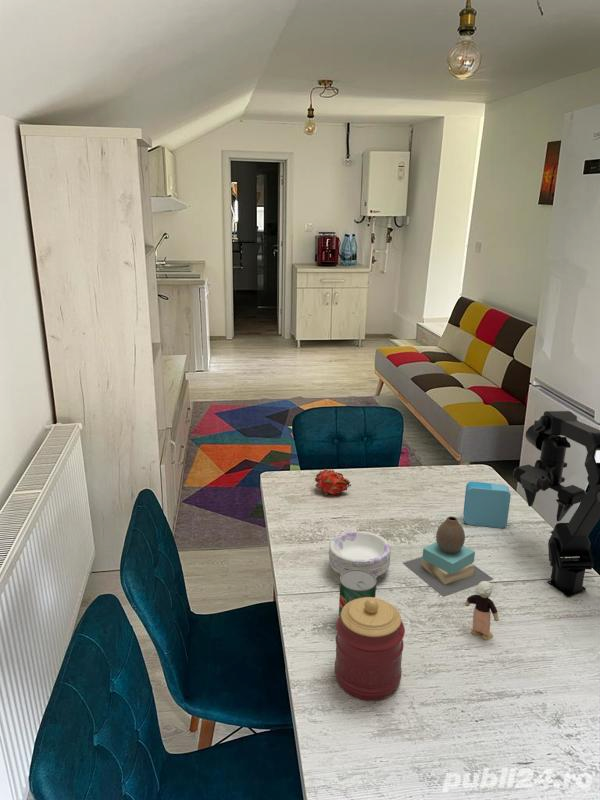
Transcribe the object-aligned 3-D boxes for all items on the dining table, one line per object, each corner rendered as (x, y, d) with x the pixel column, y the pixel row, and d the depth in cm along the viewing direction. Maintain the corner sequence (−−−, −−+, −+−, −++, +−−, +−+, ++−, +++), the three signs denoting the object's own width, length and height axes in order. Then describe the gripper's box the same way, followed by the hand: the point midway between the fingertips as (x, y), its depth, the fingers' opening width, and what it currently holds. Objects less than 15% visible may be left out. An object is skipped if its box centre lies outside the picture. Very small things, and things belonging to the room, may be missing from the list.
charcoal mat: (493, 580, 150) (493, 579, 150) (443, 598, 143) (443, 596, 143) (450, 549, 164) (450, 548, 163) (402, 564, 156) (402, 562, 156)
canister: (358, 644, 127) (362, 572, 122) (413, 674, 120) (419, 597, 114) (320, 680, 118) (323, 602, 112) (377, 714, 110) (382, 632, 105)
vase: (434, 554, 149) (436, 522, 146) (436, 540, 155) (439, 510, 153) (462, 559, 147) (466, 527, 145) (463, 545, 154) (467, 514, 151)
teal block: (473, 562, 152) (475, 551, 151) (451, 574, 146) (452, 564, 145) (444, 547, 158) (445, 536, 157) (422, 558, 153) (423, 548, 152)
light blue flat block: (504, 521, 179) (509, 484, 175) (506, 529, 175) (511, 491, 171) (462, 517, 181) (466, 480, 178) (463, 524, 177) (467, 487, 173)
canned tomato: (332, 615, 137) (334, 572, 133) (364, 607, 139) (366, 566, 136) (347, 637, 130) (349, 593, 126) (380, 629, 132) (383, 585, 129)
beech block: (473, 575, 151) (474, 564, 150) (444, 584, 147) (446, 574, 146) (448, 557, 159) (449, 547, 158) (421, 566, 155) (422, 556, 154)
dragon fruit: (312, 493, 199) (347, 503, 196) (308, 488, 191) (345, 499, 188) (319, 468, 201) (354, 478, 198) (316, 462, 193) (352, 473, 190)
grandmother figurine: (499, 633, 131) (506, 583, 127) (494, 644, 128) (501, 592, 124) (464, 621, 135) (469, 572, 131) (459, 631, 132) (464, 581, 128)
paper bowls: (345, 550, 163) (346, 523, 160) (398, 567, 155) (400, 539, 153) (317, 578, 150) (318, 550, 148) (373, 598, 143) (375, 568, 140)
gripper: (501, 450, 158) (495, 504, 163) (560, 478, 143) (551, 536, 147) (532, 444, 163) (524, 496, 168) (592, 469, 148) (582, 526, 152)
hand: (544, 513), depth 159 cm, fingers open, 9 cm apart
